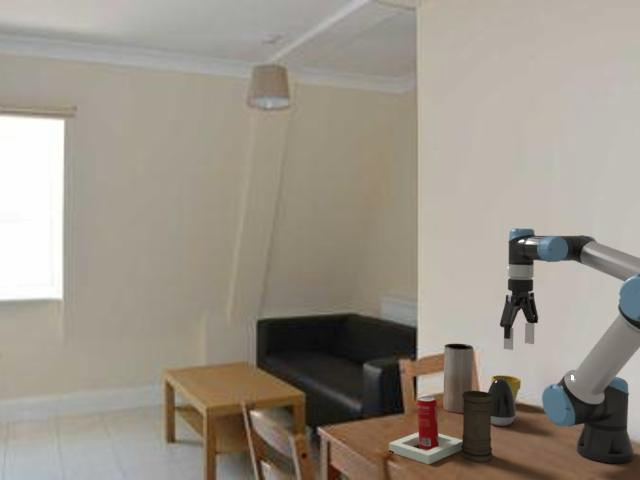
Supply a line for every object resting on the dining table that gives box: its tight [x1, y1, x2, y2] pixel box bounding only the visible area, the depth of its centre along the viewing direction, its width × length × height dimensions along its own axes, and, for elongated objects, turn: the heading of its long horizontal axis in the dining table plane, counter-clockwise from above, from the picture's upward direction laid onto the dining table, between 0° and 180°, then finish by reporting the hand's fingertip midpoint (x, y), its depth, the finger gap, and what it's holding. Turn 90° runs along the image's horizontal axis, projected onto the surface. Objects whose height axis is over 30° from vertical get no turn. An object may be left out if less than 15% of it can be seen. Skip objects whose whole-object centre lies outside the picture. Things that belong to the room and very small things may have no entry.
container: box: [460, 390, 493, 463], centre depth 190 cm, size 9×9×18 cm
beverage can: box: [416, 396, 440, 451], centre depth 196 cm, size 6×6×15 cm
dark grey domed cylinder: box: [487, 378, 517, 427], centre depth 221 cm, size 10×10×15 cm
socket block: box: [388, 431, 463, 465], centre depth 195 cm, size 14×18×3 cm
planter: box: [442, 343, 474, 414], centre depth 237 cm, size 10×10×23 cm
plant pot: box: [490, 374, 521, 402], centre depth 244 cm, size 10×10×10 cm
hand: (519, 346), depth 206 cm, fingers open, 13 cm apart
